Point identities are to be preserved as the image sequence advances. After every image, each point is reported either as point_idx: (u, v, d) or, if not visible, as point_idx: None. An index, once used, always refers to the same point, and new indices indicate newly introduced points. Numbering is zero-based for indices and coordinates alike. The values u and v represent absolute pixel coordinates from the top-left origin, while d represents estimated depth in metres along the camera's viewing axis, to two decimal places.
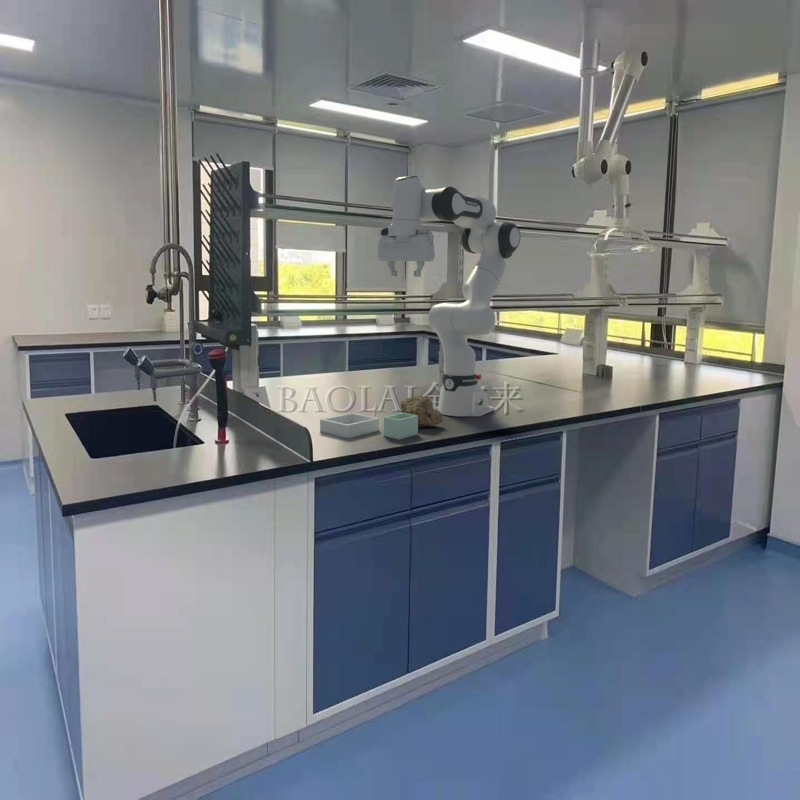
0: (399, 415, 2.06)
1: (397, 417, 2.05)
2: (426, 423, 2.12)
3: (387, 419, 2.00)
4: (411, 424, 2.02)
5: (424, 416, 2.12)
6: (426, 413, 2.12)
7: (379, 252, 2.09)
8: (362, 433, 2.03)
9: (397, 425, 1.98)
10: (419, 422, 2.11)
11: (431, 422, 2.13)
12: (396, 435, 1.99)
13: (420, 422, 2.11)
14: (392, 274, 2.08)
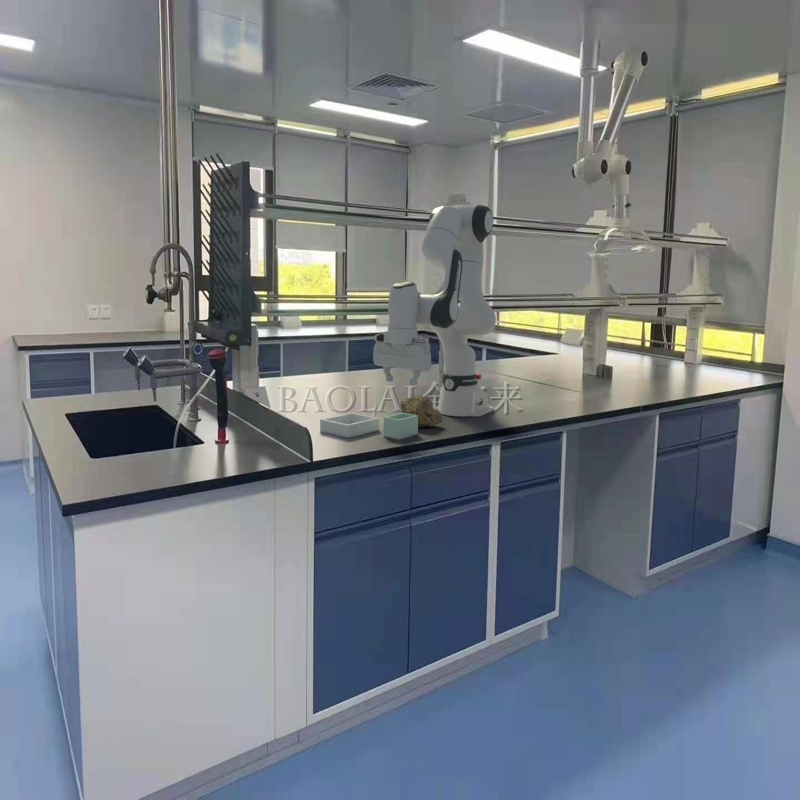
0: (399, 415, 2.06)
1: (397, 417, 2.05)
2: (426, 423, 2.12)
3: (387, 419, 2.00)
4: (411, 424, 2.02)
5: (424, 416, 2.12)
6: (426, 413, 2.12)
7: (374, 356, 2.03)
8: (362, 433, 2.03)
9: (397, 425, 1.98)
10: (419, 422, 2.11)
11: (431, 422, 2.13)
12: (396, 435, 1.99)
13: (420, 422, 2.11)
14: (387, 379, 2.02)
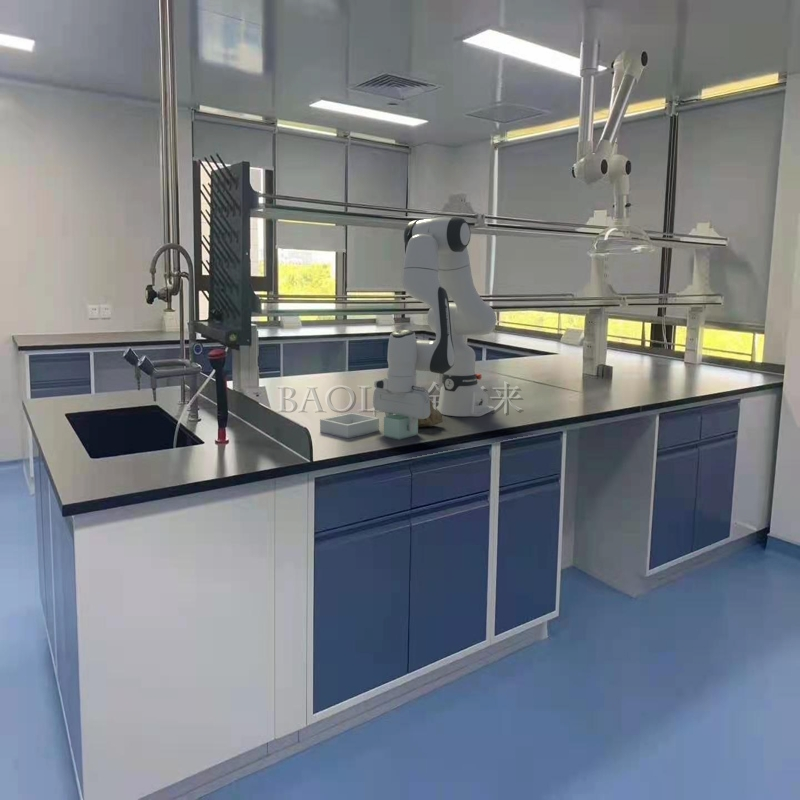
0: (399, 415, 2.06)
1: (397, 417, 2.05)
2: (426, 423, 2.12)
3: (387, 419, 2.00)
4: None
5: None
6: None
7: (374, 402, 2.06)
8: (362, 433, 2.03)
9: (397, 425, 1.98)
10: (419, 422, 2.11)
11: (431, 422, 2.13)
12: (396, 435, 1.99)
13: (420, 422, 2.11)
14: None
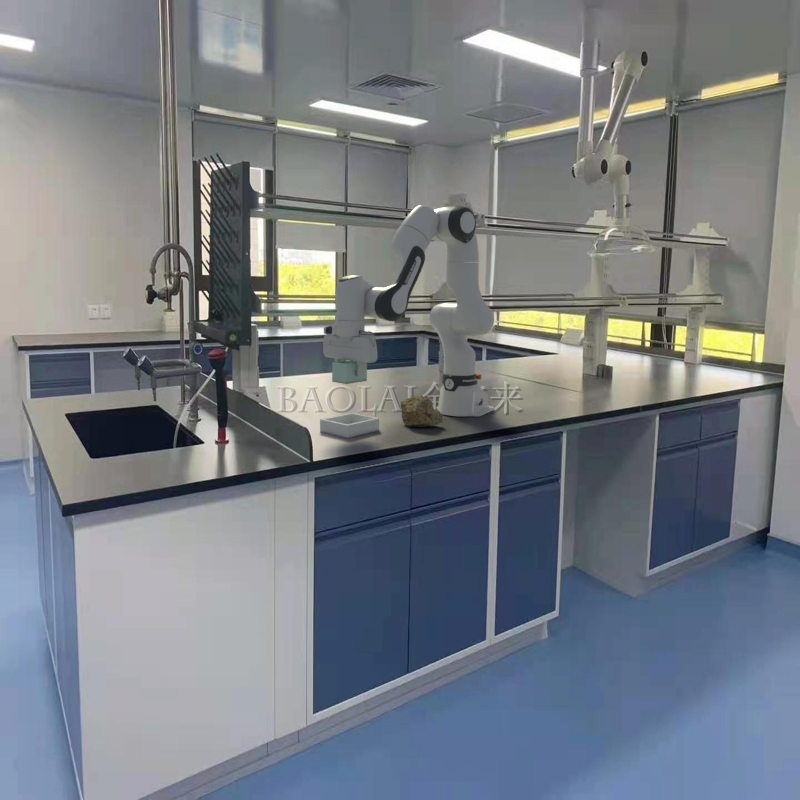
0: (348, 361, 2.07)
1: (346, 363, 2.06)
2: (426, 423, 2.12)
3: (335, 364, 2.01)
4: None
5: (424, 416, 2.12)
6: (426, 413, 2.12)
7: (324, 348, 2.07)
8: (362, 433, 2.03)
9: (345, 369, 1.99)
10: (419, 422, 2.11)
11: (431, 422, 2.13)
12: (344, 379, 2.00)
13: (420, 422, 2.11)
14: None
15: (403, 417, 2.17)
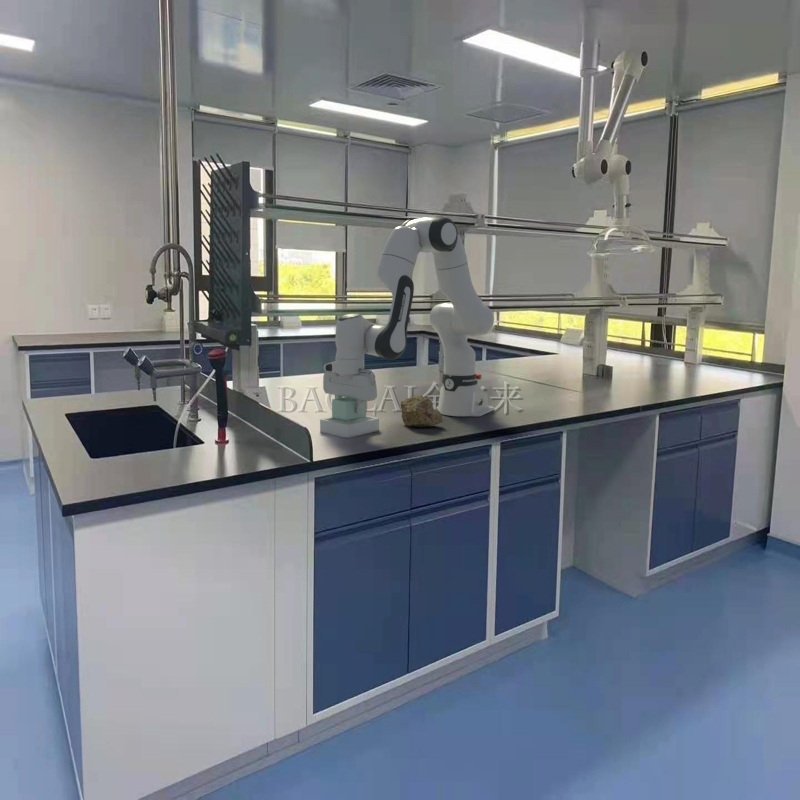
0: (348, 398, 2.09)
1: (346, 400, 2.08)
2: (426, 423, 2.12)
3: (335, 401, 2.03)
4: None
5: (424, 416, 2.12)
6: (426, 413, 2.12)
7: (324, 385, 2.09)
8: (362, 433, 2.03)
9: (344, 407, 2.01)
10: (419, 422, 2.11)
11: (431, 422, 2.13)
12: (343, 417, 2.02)
13: (420, 422, 2.11)
14: None
15: (403, 417, 2.17)
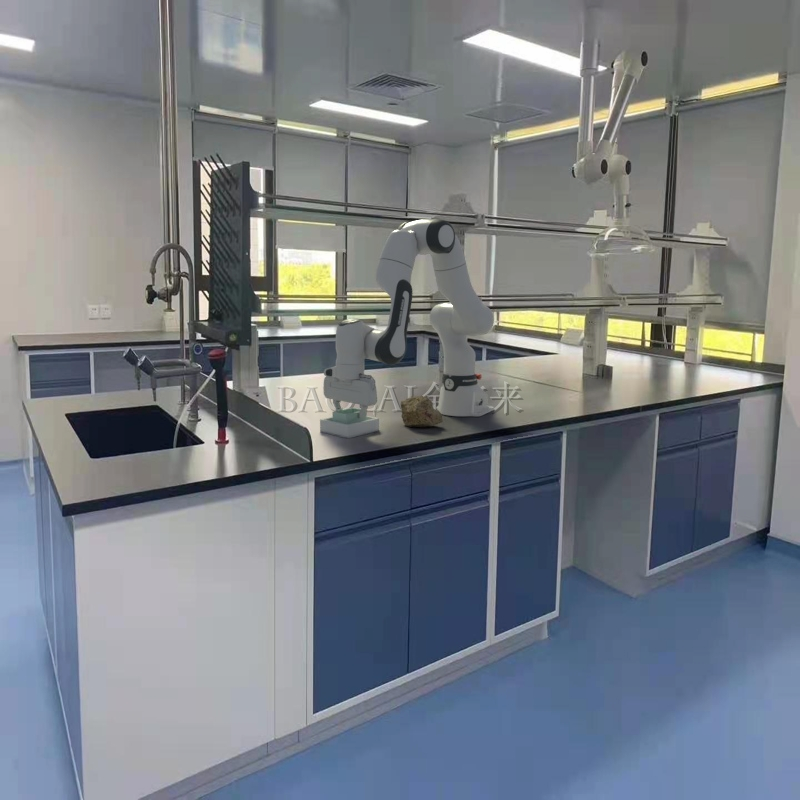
0: (348, 410, 2.10)
1: (346, 412, 2.09)
2: (426, 423, 2.12)
3: (335, 414, 2.04)
4: None
5: (424, 416, 2.12)
6: (426, 413, 2.12)
7: (324, 390, 2.10)
8: (362, 433, 2.03)
9: (345, 419, 2.02)
10: (419, 422, 2.11)
11: (431, 422, 2.13)
12: None
13: (420, 422, 2.11)
14: None
15: (403, 417, 2.17)
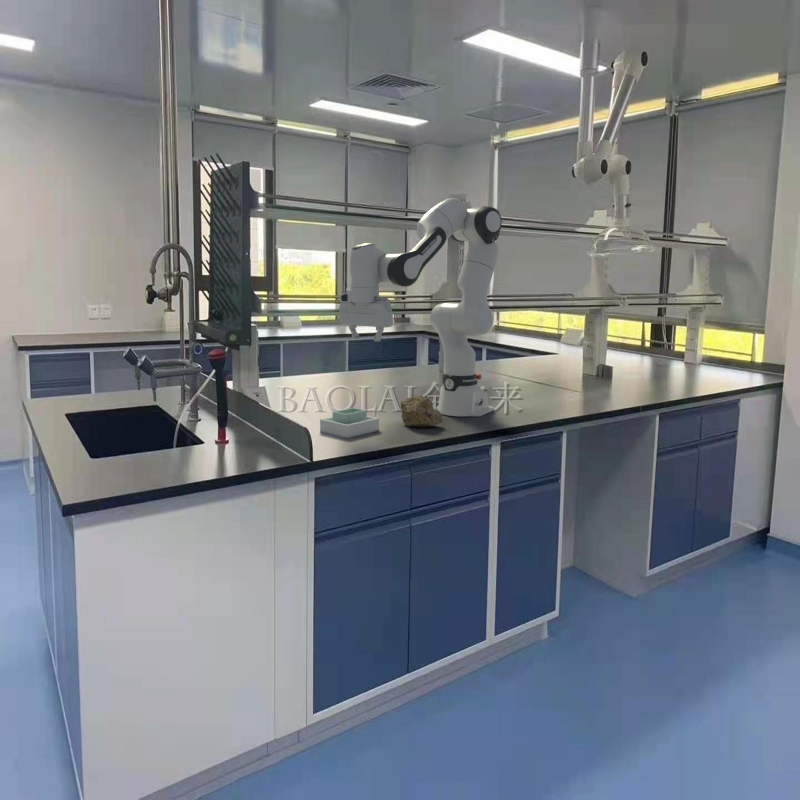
0: (348, 410, 2.10)
1: (346, 412, 2.09)
2: (426, 423, 2.12)
3: (335, 414, 2.04)
4: (359, 418, 2.06)
5: (424, 416, 2.12)
6: (426, 413, 2.12)
7: (340, 316, 2.14)
8: (362, 433, 2.03)
9: (345, 419, 2.02)
10: (419, 422, 2.11)
11: (431, 422, 2.13)
12: None
13: (420, 422, 2.11)
14: (354, 337, 2.13)
15: (403, 417, 2.17)
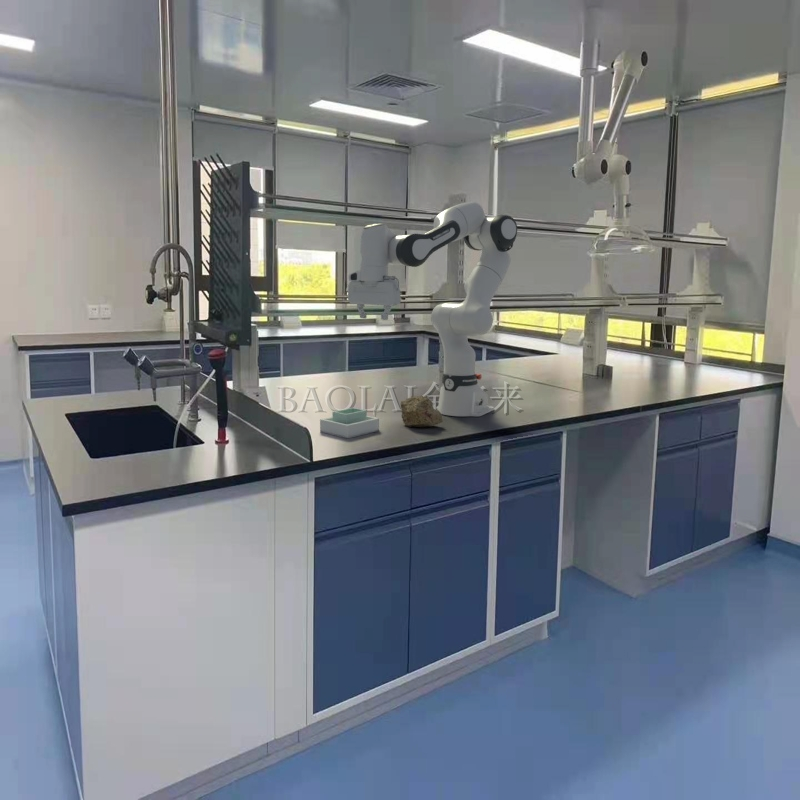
0: (348, 410, 2.10)
1: (346, 412, 2.09)
2: (426, 423, 2.12)
3: (335, 414, 2.04)
4: (359, 418, 2.06)
5: (424, 416, 2.12)
6: (426, 413, 2.12)
7: (349, 295, 2.18)
8: (362, 433, 2.03)
9: (345, 419, 2.02)
10: (419, 422, 2.11)
11: (431, 422, 2.13)
12: None
13: (420, 422, 2.11)
14: (361, 316, 2.17)
15: (403, 417, 2.17)
